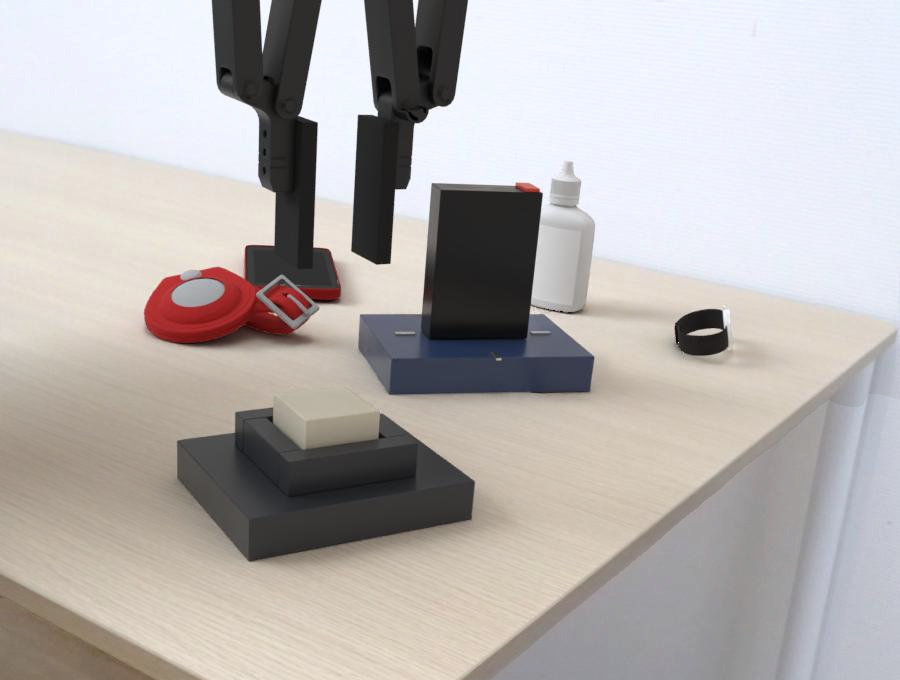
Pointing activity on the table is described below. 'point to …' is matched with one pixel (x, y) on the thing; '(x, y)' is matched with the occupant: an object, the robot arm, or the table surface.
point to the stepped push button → (318, 487)
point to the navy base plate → (472, 359)
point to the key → (325, 417)
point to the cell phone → (293, 272)
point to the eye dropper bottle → (563, 247)
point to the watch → (707, 342)
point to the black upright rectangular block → (480, 260)
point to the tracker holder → (223, 306)
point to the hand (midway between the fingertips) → (332, 258)
